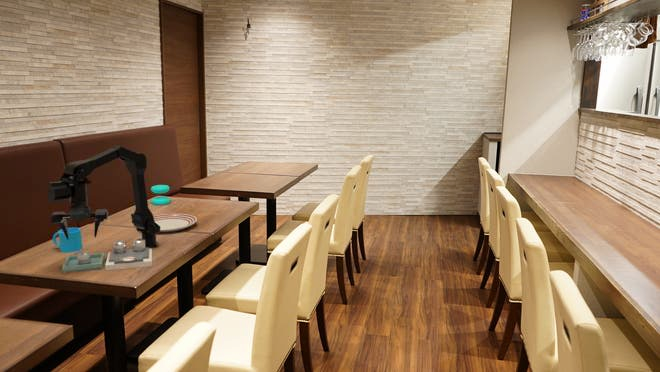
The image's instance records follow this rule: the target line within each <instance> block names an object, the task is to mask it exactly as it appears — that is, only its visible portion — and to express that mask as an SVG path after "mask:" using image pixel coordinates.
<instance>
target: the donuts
mask: <svg viewBox="0 0 660 372" xmlns="http://www.w3.org/2000/svg"><path fill="white" fill-rule="evenodd" d="M150 191H151V192H153V194H165V193H168V192H169V191H170V186H169V185H167V184H166V185H165V184H157V185H153V186H151V188H150ZM151 203H152V205H155V206H163V205H168V204H170V203H171V199H170V197H169V196H160V195H159V196H156V197H153V198H152V200H151Z"/></svg>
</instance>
